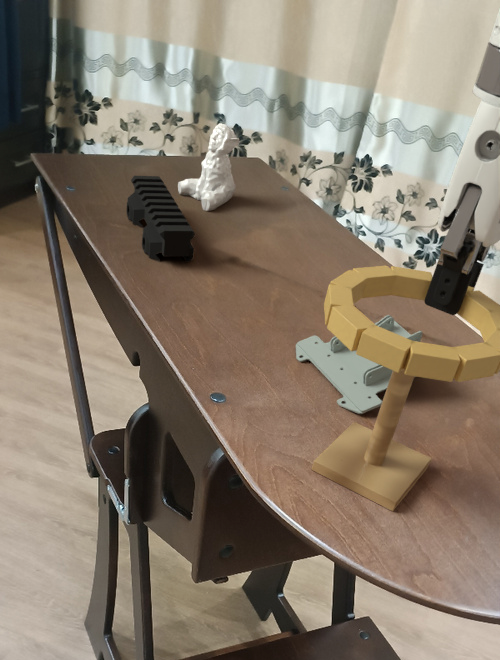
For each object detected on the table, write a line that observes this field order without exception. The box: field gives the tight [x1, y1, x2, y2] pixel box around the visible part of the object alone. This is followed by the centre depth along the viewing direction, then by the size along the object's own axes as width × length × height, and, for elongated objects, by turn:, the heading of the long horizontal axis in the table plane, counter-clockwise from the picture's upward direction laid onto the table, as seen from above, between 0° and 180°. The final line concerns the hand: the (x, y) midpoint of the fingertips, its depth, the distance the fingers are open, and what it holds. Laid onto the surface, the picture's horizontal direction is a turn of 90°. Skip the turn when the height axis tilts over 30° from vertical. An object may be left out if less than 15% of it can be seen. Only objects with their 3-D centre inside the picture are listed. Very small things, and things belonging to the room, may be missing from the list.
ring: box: [323, 265, 500, 383], centre depth 61 cm, size 16×16×2 cm
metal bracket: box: [295, 314, 423, 415], centre depth 85 cm, size 14×6×15 cm
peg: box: [311, 369, 432, 512], centre depth 68 cm, size 9×9×12 cm
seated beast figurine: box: [177, 122, 240, 212], centre depth 119 cm, size 10×9×12 cm
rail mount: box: [126, 175, 196, 263], centre depth 107 cm, size 21×6×5 cm, turn 16°
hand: (446, 302), depth 66 cm, fingers closed on ring, 2 cm apart
